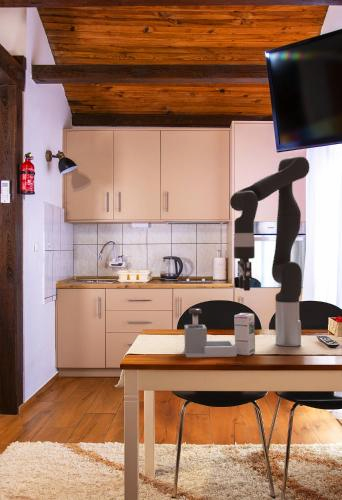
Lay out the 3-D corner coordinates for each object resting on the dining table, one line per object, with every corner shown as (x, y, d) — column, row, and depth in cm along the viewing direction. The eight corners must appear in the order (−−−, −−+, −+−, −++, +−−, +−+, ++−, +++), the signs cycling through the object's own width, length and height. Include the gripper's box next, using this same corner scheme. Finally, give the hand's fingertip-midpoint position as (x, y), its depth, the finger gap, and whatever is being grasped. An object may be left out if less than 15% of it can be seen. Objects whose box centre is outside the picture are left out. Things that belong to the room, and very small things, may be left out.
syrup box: (249, 355, 171) (249, 315, 171) (234, 353, 174) (234, 314, 174) (255, 352, 176) (255, 313, 176) (240, 350, 179) (240, 312, 179)
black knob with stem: (200, 330, 177) (200, 308, 177) (201, 333, 173) (201, 310, 173) (188, 331, 177) (188, 308, 177) (189, 333, 173) (189, 310, 173)
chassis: (231, 349, 181) (231, 323, 181) (236, 356, 170) (236, 328, 170) (184, 350, 180) (184, 324, 180) (186, 357, 169) (186, 329, 169)
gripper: (258, 245, 168) (258, 291, 168) (250, 245, 182) (250, 287, 182) (237, 245, 168) (237, 291, 168) (230, 245, 182) (231, 287, 182)
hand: (244, 289), depth 175 cm, fingers open, 8 cm apart
